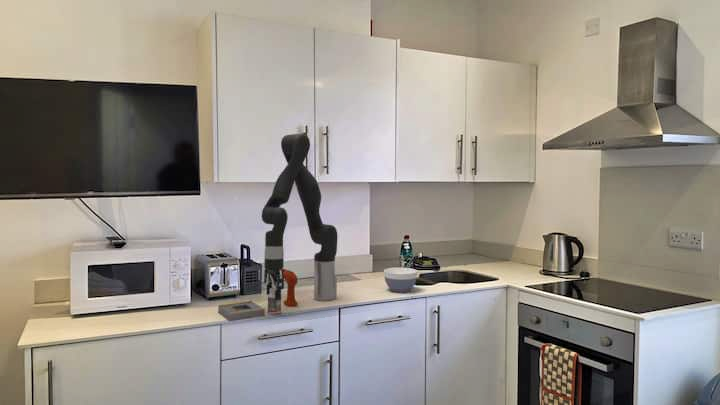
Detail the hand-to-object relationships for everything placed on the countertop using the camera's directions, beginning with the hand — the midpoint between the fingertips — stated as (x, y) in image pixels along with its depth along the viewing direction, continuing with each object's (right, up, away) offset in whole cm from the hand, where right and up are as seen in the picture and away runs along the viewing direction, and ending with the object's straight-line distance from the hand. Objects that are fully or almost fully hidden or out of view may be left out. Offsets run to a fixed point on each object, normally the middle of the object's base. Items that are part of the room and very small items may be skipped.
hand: (273, 297), depth 203 cm
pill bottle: (0, -7, +1) cm, 7 cm away
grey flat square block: (-12, -6, -2) cm, 14 cm away
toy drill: (+3, -6, +17) cm, 18 cm away
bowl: (+54, -5, +41) cm, 68 cm away
